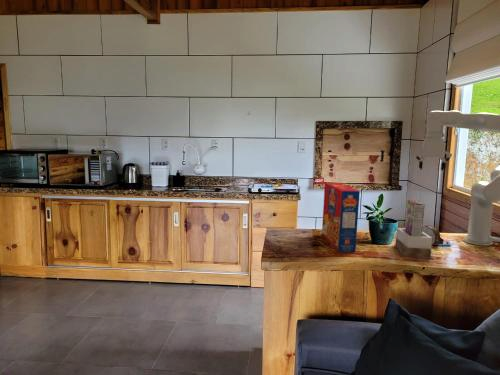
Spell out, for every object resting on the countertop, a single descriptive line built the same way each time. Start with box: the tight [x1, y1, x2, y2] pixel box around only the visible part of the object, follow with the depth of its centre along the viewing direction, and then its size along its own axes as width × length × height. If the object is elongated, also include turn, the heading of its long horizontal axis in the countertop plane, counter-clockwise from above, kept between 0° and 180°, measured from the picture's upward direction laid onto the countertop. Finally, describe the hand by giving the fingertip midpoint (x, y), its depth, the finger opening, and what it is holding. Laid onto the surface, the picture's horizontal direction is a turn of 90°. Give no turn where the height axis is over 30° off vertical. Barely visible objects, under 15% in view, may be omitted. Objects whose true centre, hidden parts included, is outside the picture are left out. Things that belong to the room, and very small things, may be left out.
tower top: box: [395, 227, 432, 250], centre depth 173 cm, size 10×16×5 cm, turn 177°
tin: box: [422, 224, 441, 246], centre depth 188 cm, size 15×3×8 cm, turn 178°
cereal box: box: [321, 182, 360, 253], centre depth 182 cm, size 28×8×28 cm, turn 4°
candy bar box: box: [404, 199, 426, 237], centre depth 171 cm, size 11×5×16 cm, turn 171°
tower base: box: [394, 237, 432, 260], centre depth 173 cm, size 12×18×4 cm, turn 167°
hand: (431, 169), depth 191 cm, fingers open, 9 cm apart
